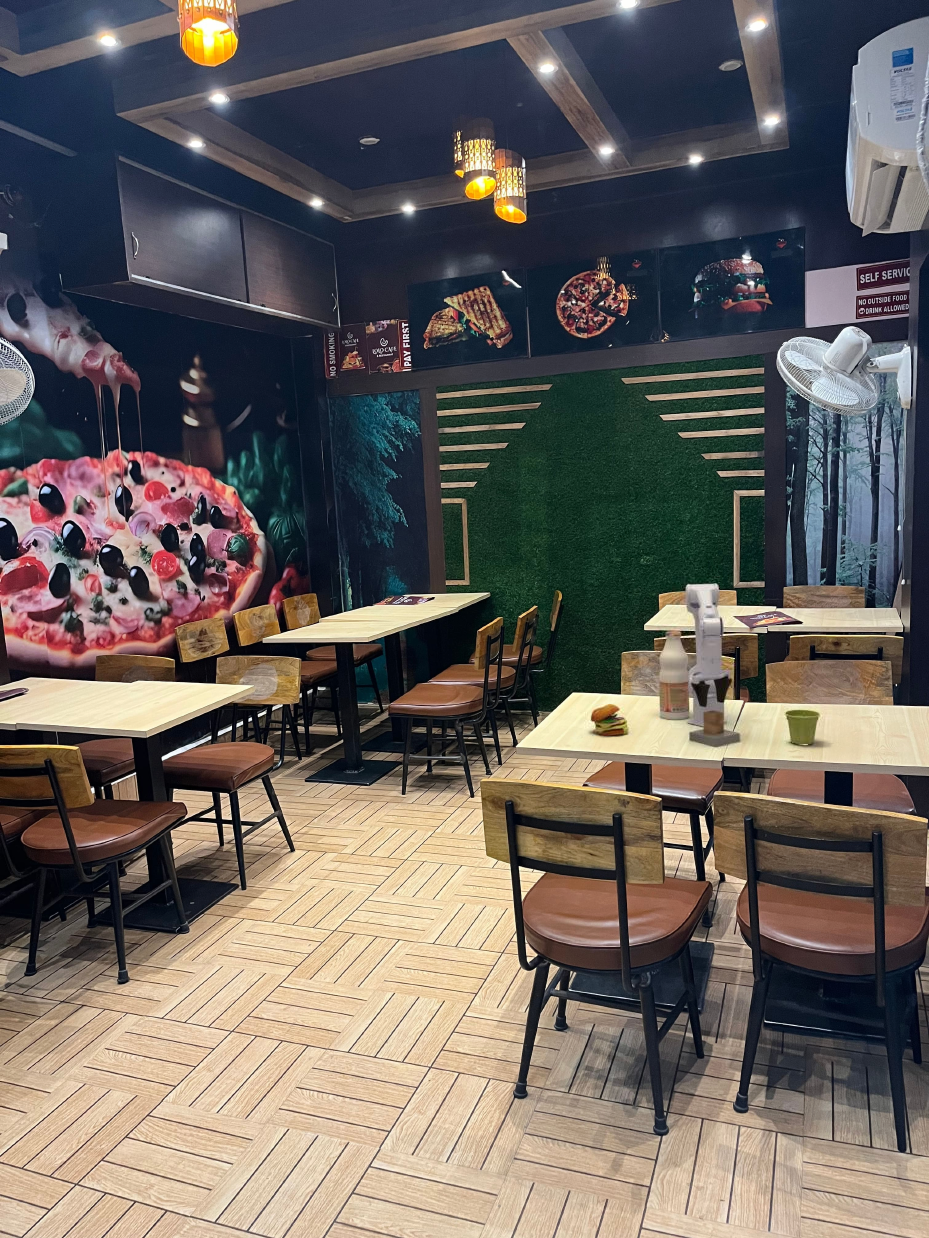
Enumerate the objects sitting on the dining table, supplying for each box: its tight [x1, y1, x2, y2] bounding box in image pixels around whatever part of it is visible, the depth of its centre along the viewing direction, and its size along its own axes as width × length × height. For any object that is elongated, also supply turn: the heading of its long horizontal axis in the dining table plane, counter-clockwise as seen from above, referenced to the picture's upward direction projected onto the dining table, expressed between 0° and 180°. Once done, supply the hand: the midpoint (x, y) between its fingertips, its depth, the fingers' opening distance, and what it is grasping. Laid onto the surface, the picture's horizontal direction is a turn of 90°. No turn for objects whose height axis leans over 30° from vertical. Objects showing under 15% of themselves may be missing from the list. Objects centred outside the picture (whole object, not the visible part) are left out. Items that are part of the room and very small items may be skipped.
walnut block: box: [703, 710, 725, 735], centre depth 261 cm, size 4×4×6 cm
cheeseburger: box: [590, 703, 629, 737], centre depth 275 cm, size 10×11×10 cm
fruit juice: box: [658, 630, 690, 721], centre depth 291 cm, size 9×9×28 cm
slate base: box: [688, 728, 741, 748], centre depth 261 cm, size 10×10×3 cm
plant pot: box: [784, 709, 821, 745], centre depth 254 cm, size 9×9×9 cm
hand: (711, 704), depth 262 cm, fingers open, 7 cm apart
